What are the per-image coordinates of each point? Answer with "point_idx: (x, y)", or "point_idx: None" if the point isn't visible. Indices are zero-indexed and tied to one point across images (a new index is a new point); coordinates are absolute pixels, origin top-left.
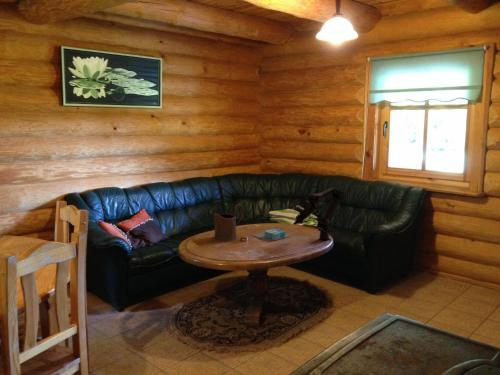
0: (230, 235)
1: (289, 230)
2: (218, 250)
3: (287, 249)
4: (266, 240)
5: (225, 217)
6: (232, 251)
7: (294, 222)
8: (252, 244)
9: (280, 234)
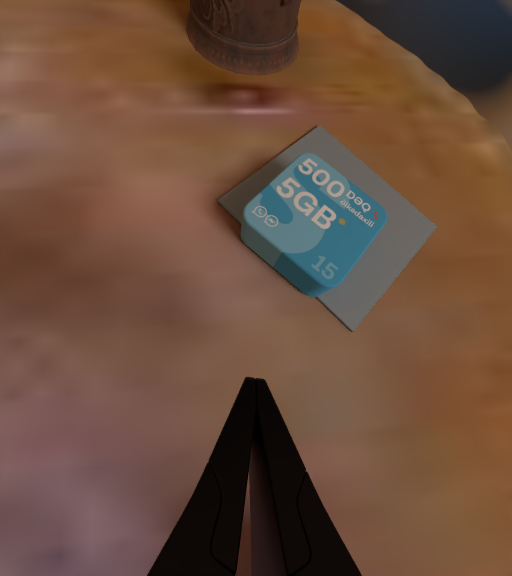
0: (203, 7)
1: (472, 313)
2: (52, 7)
3: (41, 332)
4: (228, 193)
5: None
6: (28, 53)
7: (230, 412)
8: (156, 132)
9: (280, 257)
